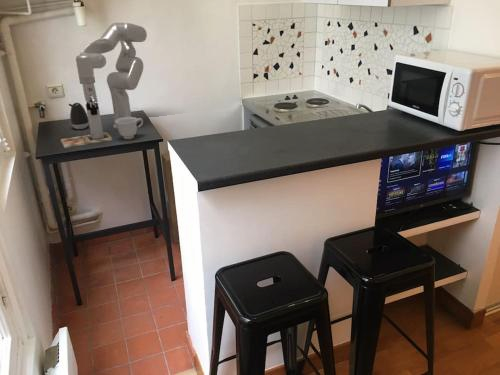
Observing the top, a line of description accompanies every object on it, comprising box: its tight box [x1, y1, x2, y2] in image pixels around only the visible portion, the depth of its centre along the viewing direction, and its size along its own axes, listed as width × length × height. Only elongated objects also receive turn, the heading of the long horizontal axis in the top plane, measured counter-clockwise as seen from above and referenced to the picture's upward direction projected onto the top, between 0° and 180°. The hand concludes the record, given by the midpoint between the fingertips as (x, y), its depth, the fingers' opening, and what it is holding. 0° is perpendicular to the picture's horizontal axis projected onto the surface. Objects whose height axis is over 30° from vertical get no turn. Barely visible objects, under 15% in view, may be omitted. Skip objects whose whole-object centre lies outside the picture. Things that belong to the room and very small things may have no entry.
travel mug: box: [85, 102, 105, 141], centre depth 226 cm, size 6×7×20 cm
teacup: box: [114, 116, 144, 140], centre depth 229 cm, size 12×15×10 cm
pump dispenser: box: [68, 102, 89, 130], centre depth 246 cm, size 10×10×15 cm
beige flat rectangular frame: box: [60, 131, 113, 149], centre depth 227 cm, size 24×12×1 cm, turn 119°
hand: (92, 113), depth 223 cm, fingers open, 9 cm apart
